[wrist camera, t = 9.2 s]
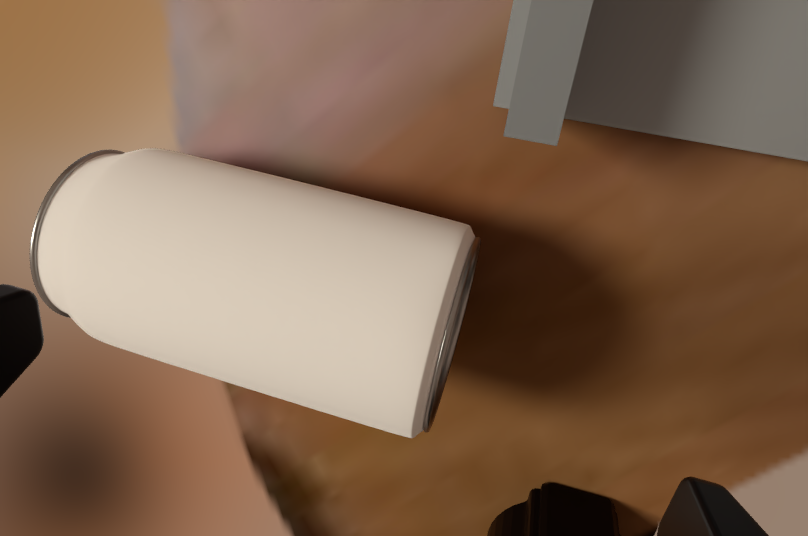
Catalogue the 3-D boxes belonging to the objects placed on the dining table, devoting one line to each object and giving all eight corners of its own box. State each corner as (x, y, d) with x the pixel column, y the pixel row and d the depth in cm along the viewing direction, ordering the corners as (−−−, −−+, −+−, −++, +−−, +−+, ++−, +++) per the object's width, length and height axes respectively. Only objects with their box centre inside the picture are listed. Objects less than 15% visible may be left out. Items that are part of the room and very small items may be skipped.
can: (455, 301, 13) (-8, 176, 14) (412, 492, 16) (39, 370, 18) (494, 194, 18) (153, 112, 20) (455, 352, 21) (167, 270, 23)
